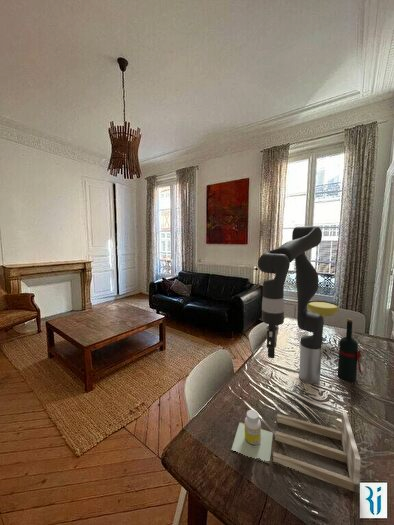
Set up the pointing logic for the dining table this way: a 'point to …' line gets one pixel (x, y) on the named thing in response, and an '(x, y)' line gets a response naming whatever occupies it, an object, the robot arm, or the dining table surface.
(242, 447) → the mat
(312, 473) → the lane rack
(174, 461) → the dining table surface
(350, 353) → the wine bottle
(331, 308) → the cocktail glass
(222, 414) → the dining table surface
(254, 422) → the supplement bottle
